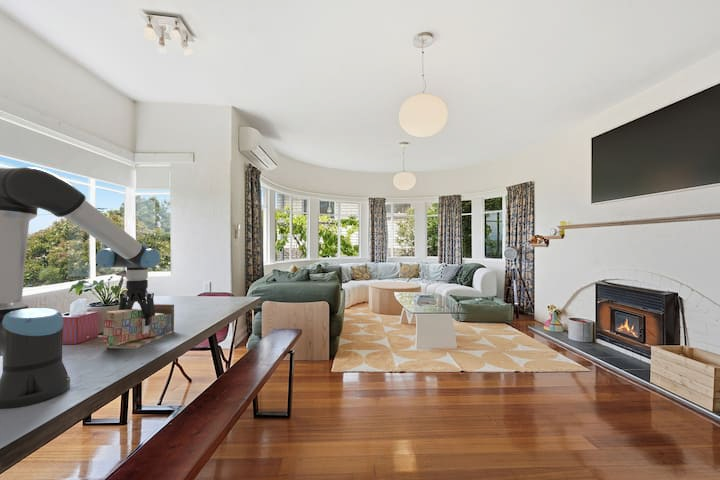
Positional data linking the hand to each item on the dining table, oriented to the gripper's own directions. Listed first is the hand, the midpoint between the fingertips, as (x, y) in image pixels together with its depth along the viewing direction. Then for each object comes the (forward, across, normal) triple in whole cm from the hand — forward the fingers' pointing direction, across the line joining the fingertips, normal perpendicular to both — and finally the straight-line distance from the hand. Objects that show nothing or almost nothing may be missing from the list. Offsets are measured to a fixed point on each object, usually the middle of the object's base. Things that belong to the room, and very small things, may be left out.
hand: (136, 333), depth 134 cm
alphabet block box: (+4, 0, -8) cm, 9 cm away
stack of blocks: (+2, 0, 0) cm, 2 cm away
